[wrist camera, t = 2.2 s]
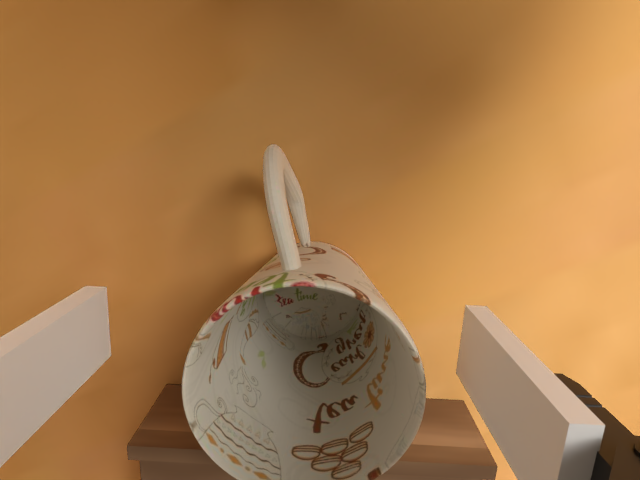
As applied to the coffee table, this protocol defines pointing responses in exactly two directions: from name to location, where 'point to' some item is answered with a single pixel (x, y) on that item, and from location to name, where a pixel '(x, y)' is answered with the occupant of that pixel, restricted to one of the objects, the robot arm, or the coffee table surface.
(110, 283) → the coffee table surface
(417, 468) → the cleat board
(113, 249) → the coffee table surface
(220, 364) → the mug
